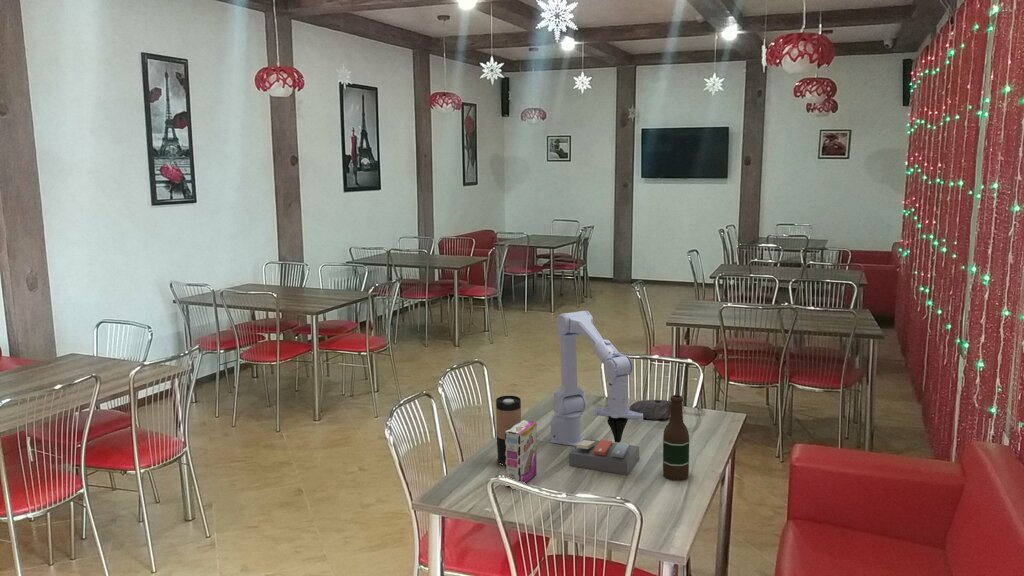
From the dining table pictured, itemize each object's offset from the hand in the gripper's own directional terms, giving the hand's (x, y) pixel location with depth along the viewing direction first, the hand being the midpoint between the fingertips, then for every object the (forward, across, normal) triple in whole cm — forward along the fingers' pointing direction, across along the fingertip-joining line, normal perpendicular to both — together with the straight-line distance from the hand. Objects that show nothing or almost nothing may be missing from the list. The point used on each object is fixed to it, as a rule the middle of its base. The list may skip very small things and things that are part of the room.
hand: (617, 441), depth 223 cm
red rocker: (+5, -6, +3) cm, 8 cm away
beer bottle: (+9, +16, +3) cm, 19 cm away
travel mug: (+9, -32, -6) cm, 34 cm away
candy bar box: (+9, -23, -17) cm, 30 cm away
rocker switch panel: (+9, -6, +4) cm, 11 cm away
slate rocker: (+5, 0, +3) cm, 6 cm away
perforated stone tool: (+10, -2, +48) cm, 49 cm away
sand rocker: (+5, -11, +3) cm, 12 cm away
